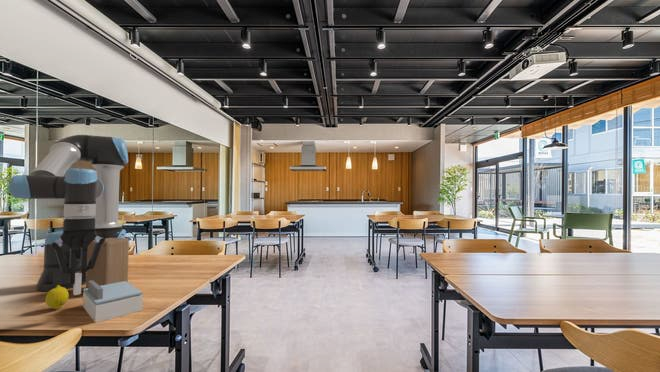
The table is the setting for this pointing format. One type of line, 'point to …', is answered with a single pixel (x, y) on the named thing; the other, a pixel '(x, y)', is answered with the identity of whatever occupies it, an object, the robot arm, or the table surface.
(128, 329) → the table surface
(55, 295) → the fruit
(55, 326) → the table surface
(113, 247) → the wooden block
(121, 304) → the box
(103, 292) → the lid
